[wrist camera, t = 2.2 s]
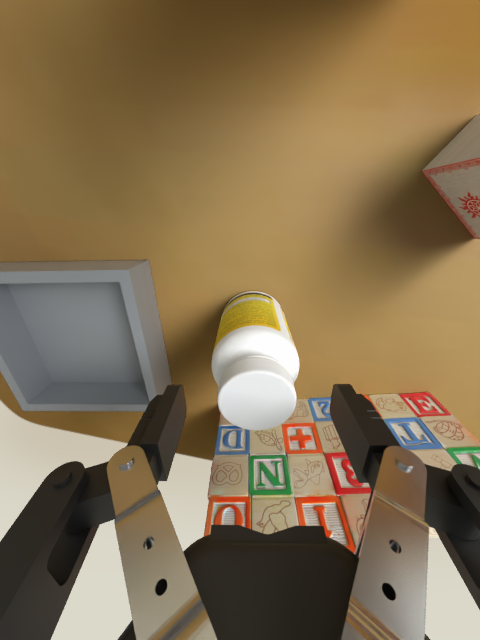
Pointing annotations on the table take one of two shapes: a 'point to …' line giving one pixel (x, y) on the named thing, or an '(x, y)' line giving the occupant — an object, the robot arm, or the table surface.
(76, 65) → the table surface
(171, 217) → the table surface
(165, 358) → the box
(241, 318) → the supplement bottle
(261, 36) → the table surface
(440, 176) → the herbal tea box
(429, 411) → the stack of blocks
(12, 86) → the table surface
